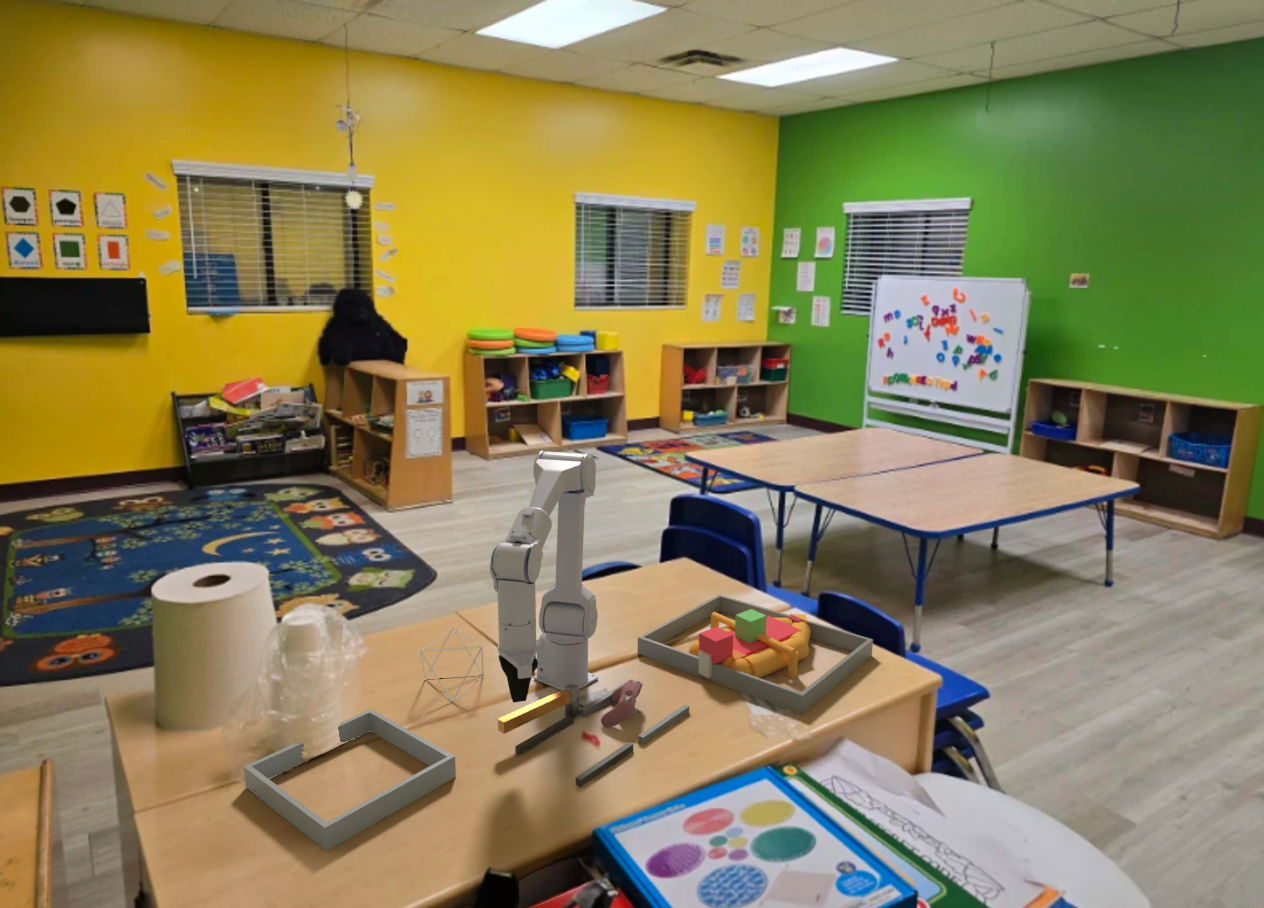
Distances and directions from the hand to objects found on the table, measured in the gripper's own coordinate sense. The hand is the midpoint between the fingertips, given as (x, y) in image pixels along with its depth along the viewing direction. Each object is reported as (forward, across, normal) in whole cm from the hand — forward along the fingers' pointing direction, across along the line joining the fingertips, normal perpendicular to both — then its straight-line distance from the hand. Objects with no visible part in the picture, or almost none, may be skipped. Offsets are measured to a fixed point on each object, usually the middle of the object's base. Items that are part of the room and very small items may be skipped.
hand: (518, 699), depth 131 cm
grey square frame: (+9, -1, +25) cm, 27 cm away
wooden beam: (+9, +5, -4) cm, 11 cm away
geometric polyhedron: (+10, +25, +8) cm, 28 cm away
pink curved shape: (+10, +7, -19) cm, 22 cm away
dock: (+9, +2, -15) cm, 18 cm away
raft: (+10, +22, -50) cm, 56 cm away
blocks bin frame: (+9, +23, -51) cm, 56 cm away
